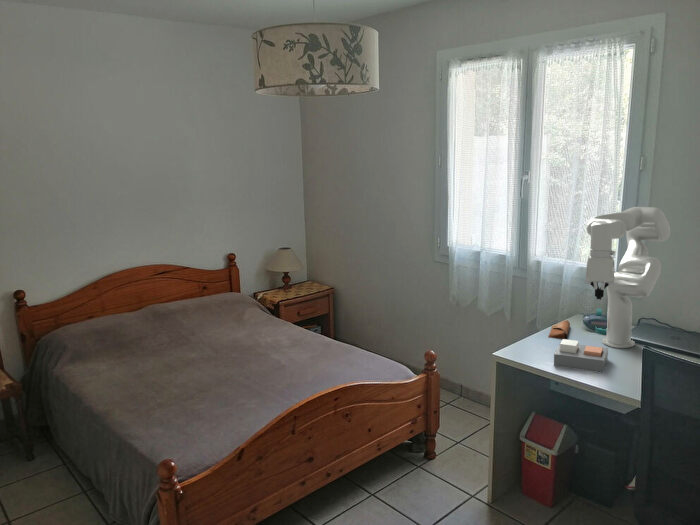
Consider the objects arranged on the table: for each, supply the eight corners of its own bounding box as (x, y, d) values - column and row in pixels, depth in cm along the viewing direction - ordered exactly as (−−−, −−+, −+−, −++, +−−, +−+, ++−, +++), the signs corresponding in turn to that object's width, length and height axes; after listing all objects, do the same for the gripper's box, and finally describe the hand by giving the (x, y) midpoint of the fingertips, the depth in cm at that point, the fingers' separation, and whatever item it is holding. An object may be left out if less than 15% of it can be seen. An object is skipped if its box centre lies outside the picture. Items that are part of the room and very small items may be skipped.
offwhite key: (562, 347, 221) (562, 339, 221) (578, 349, 218) (578, 340, 218) (559, 352, 216) (560, 343, 216) (575, 354, 213) (576, 345, 213)
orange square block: (586, 353, 217) (586, 345, 216) (602, 356, 214) (602, 347, 213) (583, 359, 212) (584, 350, 211) (600, 361, 209) (600, 352, 208)
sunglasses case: (551, 325, 261) (558, 314, 258) (564, 333, 259) (572, 322, 257) (547, 337, 245) (555, 326, 242) (561, 346, 243) (569, 335, 241)
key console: (560, 353, 226) (560, 342, 225) (607, 359, 217) (608, 348, 216) (553, 365, 215) (554, 353, 214) (603, 372, 205) (603, 360, 204)
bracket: (596, 322, 262) (597, 306, 260) (611, 323, 259) (612, 307, 258) (595, 334, 246) (595, 317, 245) (611, 335, 243) (612, 319, 242)
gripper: (622, 252, 210) (620, 297, 214) (581, 250, 218) (580, 294, 222) (620, 256, 204) (619, 302, 208) (578, 254, 212) (577, 299, 216)
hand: (599, 298), depth 215 cm, fingers closed
